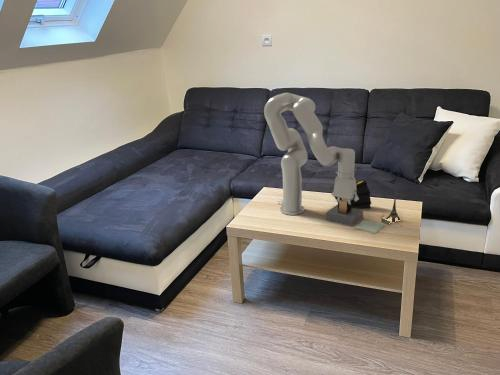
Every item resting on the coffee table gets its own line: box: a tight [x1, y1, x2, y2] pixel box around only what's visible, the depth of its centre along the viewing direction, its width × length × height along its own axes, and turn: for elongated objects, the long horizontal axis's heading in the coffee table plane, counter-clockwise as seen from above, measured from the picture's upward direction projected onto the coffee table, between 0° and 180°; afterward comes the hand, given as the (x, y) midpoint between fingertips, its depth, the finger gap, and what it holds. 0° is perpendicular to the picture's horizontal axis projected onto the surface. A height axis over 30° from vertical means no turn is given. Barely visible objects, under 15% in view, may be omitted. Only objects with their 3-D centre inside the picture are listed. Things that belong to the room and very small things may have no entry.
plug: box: [339, 198, 350, 214], centre depth 209 cm, size 4×4×10 cm
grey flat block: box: [325, 204, 364, 227], centre depth 211 cm, size 14×12×4 cm
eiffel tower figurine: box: [381, 196, 404, 227], centre depth 206 cm, size 15×10×13 cm
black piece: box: [352, 178, 372, 209], centre depth 222 cm, size 4×13×15 cm, turn 83°
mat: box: [354, 219, 385, 235], centre depth 201 cm, size 10×10×1 cm
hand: (344, 209), depth 210 cm, fingers closed on plug, 4 cm apart
